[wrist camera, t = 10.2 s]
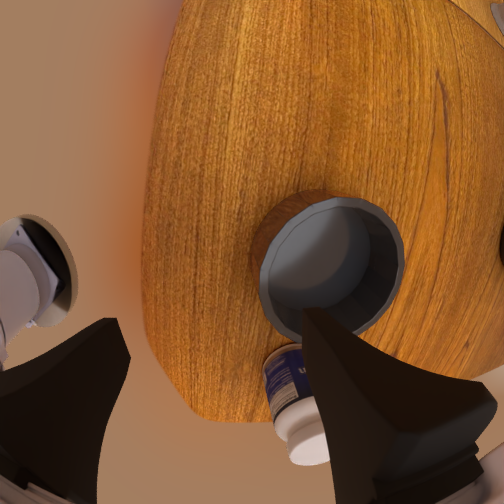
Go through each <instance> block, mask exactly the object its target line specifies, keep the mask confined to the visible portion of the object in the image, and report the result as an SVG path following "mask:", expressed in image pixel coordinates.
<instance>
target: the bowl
mask: <svg viewBox="0 0 504 504" xmlns="http://www.w3.org/2000/svg"><path fill="white" fill-rule="evenodd" d="M250 264H251V273H252V276H253V279H254V282H255V286H256V289H257V292H258V295H259V298H260V301H261V304H262V308H263V311H264V314H265V316H266V318H267V319H268V320H269V321H270V323H271V324H272V325H273V326H274V327H275V329H276V330H277V331H278V332H279V333H280V334H282V335H284V336H285V337H287V338H289V339H291V340H293V341H294V342H296V343H300V344H302V314H303V308H309V307H318V306H319V307H320V308H322V309H323V310H324V311H325V312H327V313H328V314H329V315H330V316H331V317H333V318H334V319H335V320H336V321H338V322H339V323H340V324H341V325H343V326H344V327H345V328H347V329H348V330H349V331H351V332H352V333H353V334H355V335H356V336H358V335H360V334H361V333H363V332H364V331H366V330H367V329H368V328H370V327H371V326H372V325H374V324H375V323H376V322H377V321H378V320H379V319H380V318H381V316H382V315H383V314H384V313H385V312H386V311H387V309H388V308H389V307H390V305H391V304H392V302H393V300H394V298H395V296H396V294H397V292H398V290H399V288H400V285H401V280H402V276H403V271H404V266H405V260H404V245H403V241H402V239H401V236H400V234H399V231H398V229H397V226H396V224H395V223H394V222H393V220H392V219H391V218H390V217H389V216H388V215H387V214H386V213H385V212H384V210H383V209H382V208H380V207H378V206H376V205H374V204H372V203H370V202H368V201H366V200H364V199H362V198H358V197H355V196H351V195H348V194H344V193H341V192H337V191H332V190H323V189H315V190H307V191H303V192H299V193H297V194H294V195H292V196H290V197H288V198H286V199H285V200H283V201H281V202H280V203H279V204H278V205H276V206H275V207H274V208H273V209H272V210H271V211H270V212H269V213H268V214H267V215H266V217H265V218H264V219H263V221H262V222H261V224H260V226H259V227H258V229H257V231H256V234H255V236H254V239H253V243H252V247H251V255H250Z"/></svg>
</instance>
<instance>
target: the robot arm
mask: <svg viewBox="0 0 504 504" xmlns="http://www.w3.org/2000/svg"><path fill="white" fill-rule="evenodd" d="M19 232H20V234H19ZM58 287H59V288H60V290H59V289H58ZM65 289H66V284H65V282H64V281H63V280H62V278H61V277H60V276H59V274H58V273H57V272H56V271H55V269H54V268H53V267H52V265H51V264H50V263H49V261H48V260H47V258H46V257H45V256H44V254H43V253H42V251H41V250H40V249H39V247H38V246H37V244H36V243H35V241H34V240H33V238H32V237H31V235H30V234H29V232H28V231H27V229H26V228H25V226H24V225H23V224H20V225H18V227H17V228H16V230H15V231H14V233H13V234H12V236H11V237H10V239H9V240H8V242H7V243H6V245H5V247H4V248H3V250H1V251H0V504H97V474H98V464H99V458H100V452H101V446H102V442H103V437H104V433H105V429H106V426H107V423H108V420H109V417H110V415H111V412H112V410H113V407H114V405H115V403H116V400H117V398H118V395H119V393H120V391H121V388H122V386H123V383H124V381H125V378H126V375H127V372H128V367H129V363H130V360H131V357H130V354H129V352H128V349H127V346H126V344H125V341H124V338H123V335H122V333H121V330H120V327H119V324H118V321H117V318H103V319H101V320H98V321H96V322H95V323H93V324H91V325H90V326H88V327H86V328H85V329H83V330H81V331H80V332H78V333H77V334H75V335H74V336H72V337H71V338H69V339H67V340H66V341H64V342H63V343H61V344H59V345H58V346H56V347H54V348H53V349H51V350H49V351H48V352H46V353H44V354H42V355H40V356H38V357H36V358H34V359H32V360H30V361H28V362H26V363H24V364H21V365H18V366H16V367H13V368H11V369H8V370H5V368H4V366H3V363H4V361H5V360H6V359H7V358H8V354H7V352H6V349H5V348H6V347H7V346H8V345H9V343H10V342H11V341H12V340H13V339H14V338H15V336H16V335H17V334H18V333H19V332H20V331H21V330H22V329H23V328H24V327H27V328H30V327H31V326H32V325H33V324H34V323H35V321H36V320H37V319H38V318H39V317H40V316H41V315H42V313H43V312H44V311H45V310H46V309H47V308H48V307H49V306H50V305H51V304H52V303H53V301H54V300H55V299H56V298H57V297H58V296H59V295H60V294H61V293H62V292H63V291H64V290H65ZM302 356H303V361H304V366H305V371H306V375H307V378H308V381H309V384H310V387H311V390H312V393H313V396H314V399H315V402H316V405H317V408H318V411H319V414H320V417H321V420H322V423H323V427H324V431H325V436H326V441H327V446H328V452H329V457H330V463H331V469H332V475H333V483H334V490H335V498H336V504H504V442H503V443H501V444H500V445H499V446H497V447H496V448H495V449H493V450H492V451H490V452H489V453H488V454H486V455H485V456H484V457H483V458H481V459H480V460H479V461H478V459H477V458H476V456H475V454H476V453H478V451H479V448H478V446H477V445H476V443H475V441H476V440H477V439H478V437H479V436H480V435H481V434H482V432H483V431H484V430H485V428H486V427H487V426H488V424H489V423H490V422H491V420H492V419H493V417H494V415H495V413H496V411H497V401H496V400H495V398H494V397H493V396H492V394H491V393H490V392H489V391H488V389H487V388H486V387H485V386H484V384H483V383H482V382H477V381H470V380H463V379H457V378H452V377H447V376H444V375H440V374H436V373H432V372H429V371H426V370H423V369H420V368H417V367H415V366H412V365H410V364H407V363H405V362H402V361H400V360H398V359H396V358H394V357H392V356H390V355H388V354H386V353H384V352H382V351H380V350H378V349H377V348H375V347H373V346H372V345H370V344H368V343H367V342H365V341H364V340H362V339H361V338H359V337H358V336H356V335H355V334H353V333H352V332H351V331H349V330H348V329H347V328H345V327H344V326H343V325H341V324H340V323H339V322H338V321H336V320H335V319H334V318H333V317H331V316H330V315H329V314H328V313H327V312H325V311H324V310H323V309H322V308H320V307H319V306H318V307H309V308H303V314H302Z"/></svg>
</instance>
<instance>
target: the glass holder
mask: <svg viewBox="0 0 504 504" xmlns="http://www.w3.org/2000/svg"><path fill="white" fill-rule="evenodd" d="M491 11H492V14H493V16H494V19H495V21H496V23H497V25H498V27H499V29H500V30H501V32H502V34H503V35H504V3H501V4H496V3H491Z"/></svg>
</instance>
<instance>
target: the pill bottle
mask: <svg viewBox="0 0 504 504" xmlns="http://www.w3.org/2000/svg"><path fill="white" fill-rule="evenodd" d="M262 375H263V381H264V385H265V389H266V394H267V398H268V402H269V407H270V411H271V415H272V420H273V424H274V428H275V431H276V433H277V435H278V436H279V437H280V438H281V439H282V440H284V441H286V442H287V445H286V448H287V451H288V454H289V457H290V460H291V461H292V462H293V463H295V464H298V465H305V466H306V465H307V466H308V465H316V464H320V463H324V462H327V461H330V457H329V452H328V446H327V441H326V436H325V431H324V427H323V423H322V420H321V417H320V414H319V411H318V408H317V405H316V402H315V399H314V396H313V393H312V390H311V387H310V384H309V381H308V378H307V375H306V371H305V366H304V361H303V356H302V344H300V343H296V344H289V345H286V346H283V347H281V348H279V349H277V350H276V351H274V352H273V353H272V354H271V355H270V356H269V357H268V358H267V359H266V361H265V363H264V365H263V369H262Z"/></svg>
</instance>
